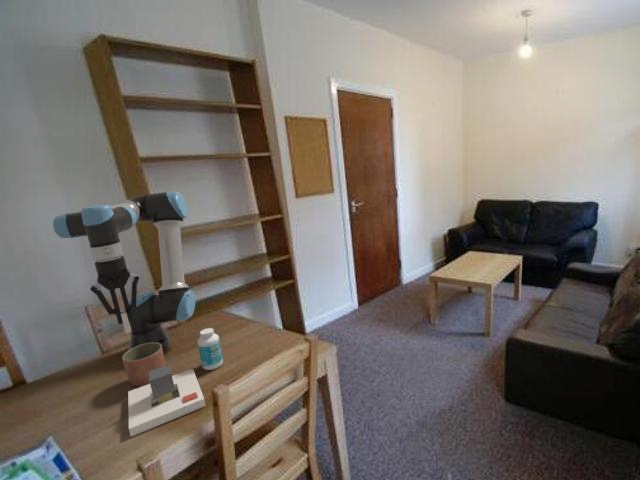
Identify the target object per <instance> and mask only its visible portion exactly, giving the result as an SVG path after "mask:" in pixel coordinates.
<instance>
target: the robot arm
mask: <svg viewBox="0 0 640 480" xmlns="http://www.w3.org/2000/svg"><path fill="white" fill-rule="evenodd" d="M188 213H189V211H188V206H187V203H186V200H185V197H183V195H182V194H181V193H180V192H179V191H165V192H157V193H156V192H155V193H148V194H141V195H137V196H133V197H130V198H128V199H124V200H121V201H119V202H117V203H116V204H112V205H109V204H99V205H92V206H86V207H83V208H82V209H81V211H79V212H70V213H67V212H66V213H62V214H59V215H56V216H55V217H54V219H53V221H52V227H53V231H54V234H56V236H57V237H59V238H62V239H73V238H80V237H87V239H88V242H89V247H90V251H91V252H90V253H91V254H92V259H93V260H94V261H95V262H94V266H95V270H96V273H97V280H96V281H97V282H94V284H92V285H90V291H91V292H92V293H94V294H95V295H96V296H97V297H98V300H99V301H100V302H101V304H102V306H103V308H104V309H105V311H106V313H107V314H108V315H110V316H111V315H115V316H116V318H117V322H118V324H119V325H123V327H124V333H125V334H126V335H127V334H130V337H129V338H130V339H129V346H128V347H129V348H128V350H130V349H132V348H134V347H136V346H139V345H142V344H145V343H152V342H156V343H160V344H161V345H162V350H163V349H165V348H166V347H168V345H169V344H170V337H169V335H168V333H167V332H166V330H165V329H164V328H163V326H162V323H169V322H170V323H171V322H180V321H185V320H189V319H190V318H191V317H192V316H193V315H194V312H195V307H196V295H195V292H194V290H191V289H190V286H189V285H188V284H187V283H186V281H185V272H184V271H185V270H184V257H183V247H182V246H183V245H182V236H181V235H182V234H181V233H182V232H181V226H182V225H184V219H186V218H187V217H188ZM151 222H153V226H155V228H157V232H158V245H159V255H160V256H159V258H160V271H161V283H162V285H161V287H160V288H159V289H158V294H156V293H155V292H154V291H153V290H147V291H143V292H139V293H138V292H137V290H138V282H139V281H140V276H139V274H133V273H131V272H130V271H129V269H128V268H127V264H126V260H125V257H124V256H123V255H124V251H123V248H122V243H121V239H120V237H119V234H120V233H122V232H125V231H129V230H130V229H131V228H133V227H135V225H136V224H137V223H151ZM129 280H130V282H131V293H130V294H131V295H130V297H128V296H127V293H126V288H125V286H126V285H127V283H128V281H129ZM102 288H105V289H106V290H109V293H110V296H111V300H112V304H113V308H112V305H111V304H110V303H109V301H108V300H107V297H106V296H105V294H104V292H102V290H101V289H102ZM117 289H119V291H120V294H121V298H122V301H123V302H122V303H123V308H124V310H121V308H120V305H119V301H118V296H117V293H116V292H117V291H116V290H117Z"/></svg>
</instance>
